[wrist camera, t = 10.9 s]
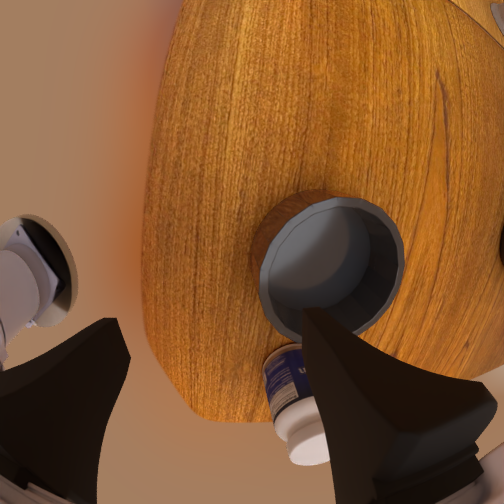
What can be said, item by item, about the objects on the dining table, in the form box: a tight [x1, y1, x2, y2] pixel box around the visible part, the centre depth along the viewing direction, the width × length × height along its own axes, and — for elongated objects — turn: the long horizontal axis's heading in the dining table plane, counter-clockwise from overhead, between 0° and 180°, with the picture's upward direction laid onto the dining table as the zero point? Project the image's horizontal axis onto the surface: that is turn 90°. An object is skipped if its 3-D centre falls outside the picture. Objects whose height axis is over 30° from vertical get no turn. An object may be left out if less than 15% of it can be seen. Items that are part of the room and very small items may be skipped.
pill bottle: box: [262, 343, 330, 466], centre depth 19 cm, size 6×6×10 cm
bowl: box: [250, 189, 405, 344], centre depth 19 cm, size 10×10×4 cm
